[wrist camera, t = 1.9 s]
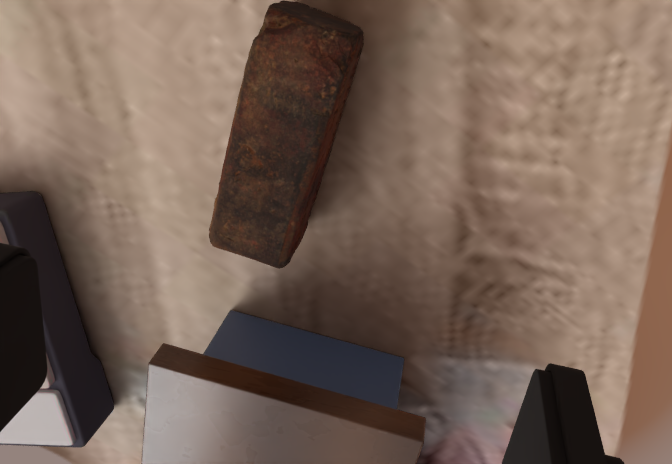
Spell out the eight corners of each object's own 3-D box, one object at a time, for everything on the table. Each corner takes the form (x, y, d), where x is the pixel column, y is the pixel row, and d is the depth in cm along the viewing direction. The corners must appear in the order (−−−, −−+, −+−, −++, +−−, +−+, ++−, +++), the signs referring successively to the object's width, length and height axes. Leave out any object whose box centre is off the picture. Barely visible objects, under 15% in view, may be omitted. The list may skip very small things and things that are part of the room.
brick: (308, 231, 33) (285, 275, 28) (235, 205, 33) (202, 246, 29) (373, 24, 28) (356, 42, 24) (286, -6, 28) (255, 7, 24)
